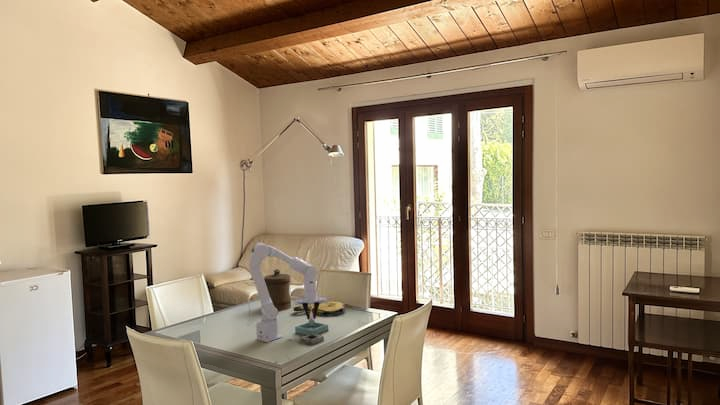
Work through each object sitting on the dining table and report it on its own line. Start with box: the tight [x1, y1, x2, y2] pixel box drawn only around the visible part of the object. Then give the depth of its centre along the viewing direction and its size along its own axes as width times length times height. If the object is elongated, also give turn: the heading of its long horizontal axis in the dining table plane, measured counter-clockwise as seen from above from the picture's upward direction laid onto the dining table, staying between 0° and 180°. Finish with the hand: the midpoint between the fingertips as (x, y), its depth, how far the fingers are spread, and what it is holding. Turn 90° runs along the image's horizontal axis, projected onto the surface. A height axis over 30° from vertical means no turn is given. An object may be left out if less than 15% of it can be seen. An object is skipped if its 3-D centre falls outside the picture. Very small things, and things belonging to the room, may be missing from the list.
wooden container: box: [263, 268, 292, 312], centre depth 280 cm, size 15×15×22 cm
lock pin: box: [308, 306, 315, 326], centre depth 232 cm, size 3×3×8 cm
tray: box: [294, 321, 329, 336], centre depth 233 cm, size 11×11×3 cm
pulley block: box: [293, 301, 350, 317], centre depth 267 cm, size 14×6×30 cm
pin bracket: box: [299, 334, 325, 346], centre depth 219 cm, size 8×8×2 cm
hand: (311, 318), depth 233 cm, fingers closed on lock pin, 3 cm apart
